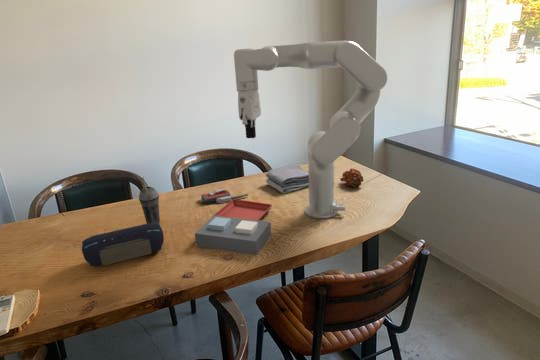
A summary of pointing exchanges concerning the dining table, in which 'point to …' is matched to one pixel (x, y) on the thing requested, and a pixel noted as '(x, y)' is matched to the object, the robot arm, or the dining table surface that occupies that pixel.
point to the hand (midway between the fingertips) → (251, 137)
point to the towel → (288, 178)
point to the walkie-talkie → (218, 197)
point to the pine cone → (352, 177)
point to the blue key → (219, 224)
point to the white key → (246, 227)
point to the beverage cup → (150, 204)
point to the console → (234, 237)
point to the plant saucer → (244, 210)
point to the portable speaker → (122, 244)
